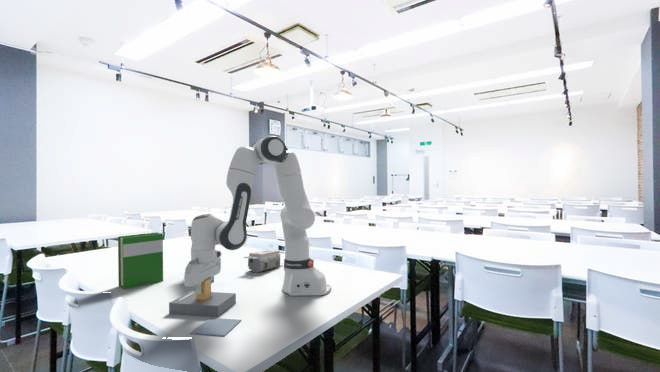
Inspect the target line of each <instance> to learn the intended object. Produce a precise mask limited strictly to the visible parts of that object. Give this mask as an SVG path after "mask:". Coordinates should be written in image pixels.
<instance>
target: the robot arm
mask: <svg viewBox="0 0 660 372" xmlns="http://www.w3.org/2000/svg"><path fill="white" fill-rule="evenodd" d="M265 164H272V165H273V166H274V168H275V171H276V172H275V173H276V177H277V182H278V183H277V184H278V189H279V194H280V196H281V198H282V201H283V203H284V206H283V208H282V209H281V211H280V215H279V216H280V220H281V224H282V231H283V233H282V234H283V238H284V253H285V254H284V259H283V269H284V275H283V276H284V277H283V284H282V288H281V291H282V292H284V293H286V294H288V295H289V296H291V297H293V296H295V297H298V296H299V297H300V296H303V297H304V296H325V295H327V294H329V293H330V292H331V290H332V286H331V284H330V283H327V279H326V276H325V274H324V273H323V272H321V271H320V270H319V269H318V268H316V267H315V266H314V262H315V260H314V258H311V257H310V240H309V238H308V235H307V230H308V229H310V228H312V226H313V225H314V223H315V219H316V216H315V213H314V211H313V209H312V208H311V204H310V202H309V199H308V197H307V194H306V191H305V187H304V182H303V181H304V180H303V175H302V171H301V170H302V169H301V167H300V163H299V159H298V157H297V154H296V153H295V152H294V151H292V150H289V149H288V147H287V146H286V143H285V142H284V140H283V139H282V138H281V137H279V136H277V135H268V136H267V137H263V138H260V139H259V140H258V141H256V142H254V143H253V144H251V146H246V145H245V146H239V147H237V148H236V150H235V152H234V154H233V156H232V159H231V161H230V163H229V167H228V171H227V174H226V186H227V188H228V190H229V191H230V193H231V196H232V204H231V209H230V215H229V218H228V220H224V219H221V218H218V217H216V216H214V215H213V214H211V213H206V214H200V215H197V216H195V217H194V218H193V219H192V221H191V226H190V239H191V248H190V260H189V261H188V263H187V265H186V267H185V269H184V275H183V276H184V277H183V285H184V286H185V287H187V288H190V287H191V288H193V287H194V288H195V291H196V290H197V294H201V293H203V289H202V288H201V282H203V281H205V279H206V278H208V277H210V276H211V281H212V277H213V276H214V277H215V276H217V275H219V274H220V273H221V268H222V260H221V256H222V251H220V250H216V246H217V245H220V246H222V247H223V248H225V249H226V250H230V251H235V250H238V249H240V248H242V247H243V246H244V245H245V244H246V241H247V238H248V231H247V220H248V219H247V218H248V213H249V207H250V202H251V196H252V190H253V184H254V180H255V176H256V172H257V168H258V167H259V166H260V165H265Z"/></svg>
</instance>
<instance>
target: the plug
mask: <svg viewBox="0 0 660 372" xmlns="http://www.w3.org/2000/svg"><path fill="white" fill-rule="evenodd" d="M201 288H202V289H203V293H201V294H197V290H196V289H195V291H196V300H207V299H209V298H210V297H211V292H212V282H211V276H210V277H208V278H206V279H205V281H203V282H201Z"/></svg>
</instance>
